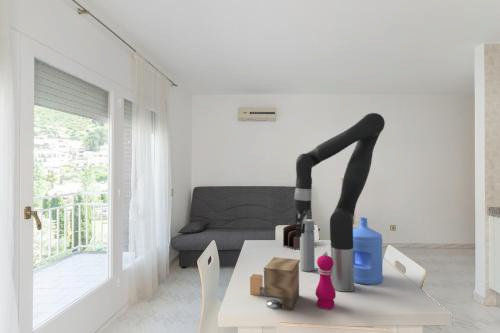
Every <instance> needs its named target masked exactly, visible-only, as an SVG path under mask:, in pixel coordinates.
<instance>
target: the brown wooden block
mask: <svg viewBox="0 0 500 333" xmlns="http://www.w3.org/2000/svg"><path fill="white" fill-rule="evenodd" d="M263 275H264V276H263V287H264V292H265V294H266V295H273V296H281V297H282V298H281V299H282V302H281V304H282V308H281V309H282V310H285V311H293V309H294V307H295V305H296V303H297V301H298V298H299V296H300V259H298V258H285V257H273V258H271V260H270V261H269V262H268V263H267V264H266V265H265V266H264V267H263Z"/></svg>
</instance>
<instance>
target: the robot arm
mask: <svg viewBox="0 0 500 333" xmlns="http://www.w3.org/2000/svg"><path fill="white" fill-rule="evenodd" d="M385 122H386V120H385V119H384V117H383V116H382V115H381V114H380V113H376V112H370V113H367V114H366V115H364V116H363V117H362V118H361V119H360V120H359V121H357V122H356V123H355V124H354V125H352V126H351V127H349V128H347V129H346V130H344V131H342V132H340V133H338V134H337V135H335V136H333V137H331V138H329V139H327V140H326V141H324V142H321V143H320V144H318V145H317V146H316V147H315V148H313V149H312V150H310V151H308V152H306V153H301V154H299V155H298V156H297V158H296V161H295V172H296V177H295V178H296V180H295V190H294V196H293V208H294V210H298V212H296V213H295V224H296V225H295V227H296V237H301V234H302V233H303V234H304V233H305V225H306V222H307V221H306V220H307V218H308V211H311V209H312V197H313V196H312V195H313V194H312V187H313V178H312V172H313V171H312V169H313V168H314V167H315V166H317V165H319V164H320V163H322V162H324V161H326V160H327V159H328V160H329V158H332V157H333V156H335V155H337V154H339V153H340V152H342V151H344V150H345V149H347V148H348V147H349V146H351V145H353V144H354V143H356V144H355V147H354V150H353V151H352V153H351V156H350V158H349V161H348V162H347V166H346V169H345V172H344V174H343V179H342V184H341V191H340V196H339V199H338V201H337V204H336V206H335V208H334V210H333V213H332V214H331V216H330V218H329V241H330V257H331V258H332V259H333V262H334V265H333V267H332V268H331V269H332V274H331V282H332V285H333V287H334V289H335V291H338V292H355V282H354V261H353V229H354V217H355V210H356V207H357V203H358V201H359V200H358V199H359V198H360V196H361V194H362V192H363V191H364V190H363V189H364V187H365V186H366V182H367V180H368V177H369V173H370V171H371V166H372V161H373V153H374V148H375V146H376V144H377V141H378V139H379V136H380V135H381V133H382V132H383V130H384V128H385V125H386V123H385ZM298 224H300V225H298Z"/></svg>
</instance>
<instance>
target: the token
mask: <svg viewBox="0 0 500 333" xmlns="http://www.w3.org/2000/svg"><path fill="white" fill-rule="evenodd" d="M265 303H266V307H267V308H269V309H273V310H274V309H279V308H280V307H281V301H280V300H279V299H274V298H273V299H268V300H266V301H265Z"/></svg>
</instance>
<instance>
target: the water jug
mask: <svg viewBox="0 0 500 333" xmlns="http://www.w3.org/2000/svg"><path fill="white" fill-rule="evenodd" d="M359 220H360V221H359V226H358V227H356V228H353V261H354V284H360V285H365V286H366V285H368V286H370V285H371V286H372V285H380V284H381V283H382V282H383V281H384V275H383V261H384V260H383V235H382V233H380V232H378V231H376V230H374V229H372V228H370V227H368V217H360V218H359Z"/></svg>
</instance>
